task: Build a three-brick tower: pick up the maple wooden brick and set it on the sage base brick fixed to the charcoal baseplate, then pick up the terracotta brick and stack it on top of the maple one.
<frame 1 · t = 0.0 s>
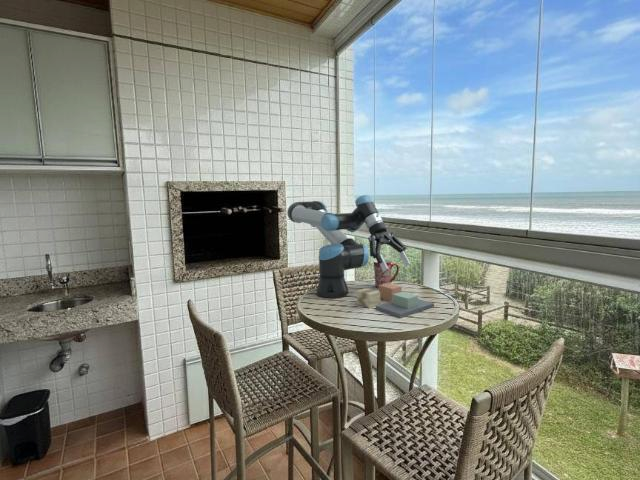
hand: (397, 267, 141), 15 cm above the table, tool tilted 35°, fingers open, 13 cm apart
mug: (386, 287, 168), on the table
baseplate: (405, 308, 135), on the table
maple brick: (368, 304, 141), on the table
terracotta brick: (390, 298, 149), on the table
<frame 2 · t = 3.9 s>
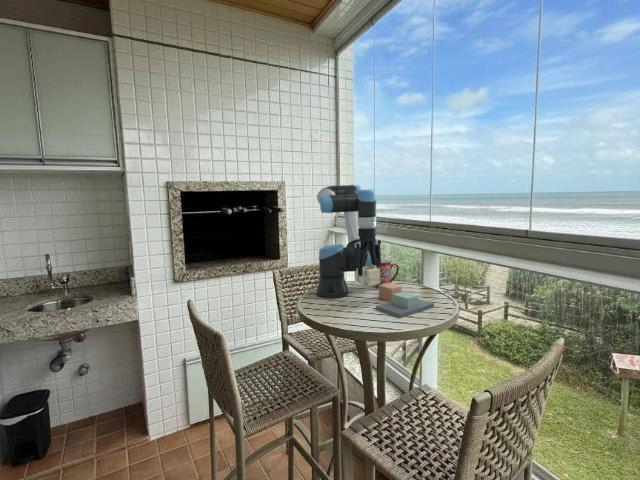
hand: (367, 281, 141), 10 cm above the table, tool pointing down, fingers closed on maple brick, 6 cm apart
maple brick: (368, 282, 141), point 9 cm above the table, touching gripper
everything else where it was.
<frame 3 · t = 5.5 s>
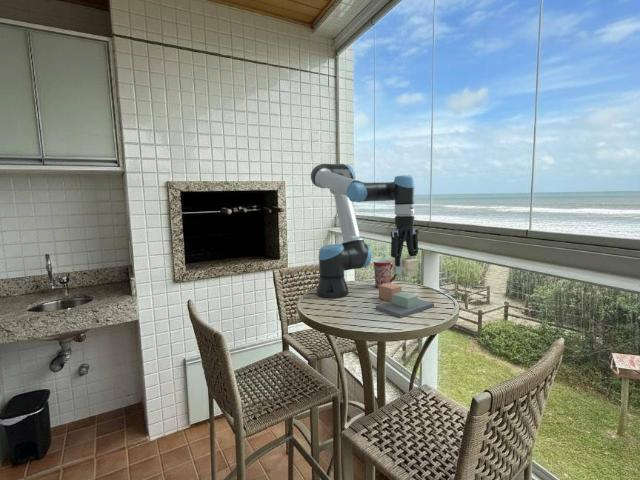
hand: (404, 272, 133), 15 cm above the table, tool pointing down, fingers closed on maple brick, 6 cm apart
maple brick: (405, 273, 133), point 14 cm above the table, touching gripper
everything else where it was.
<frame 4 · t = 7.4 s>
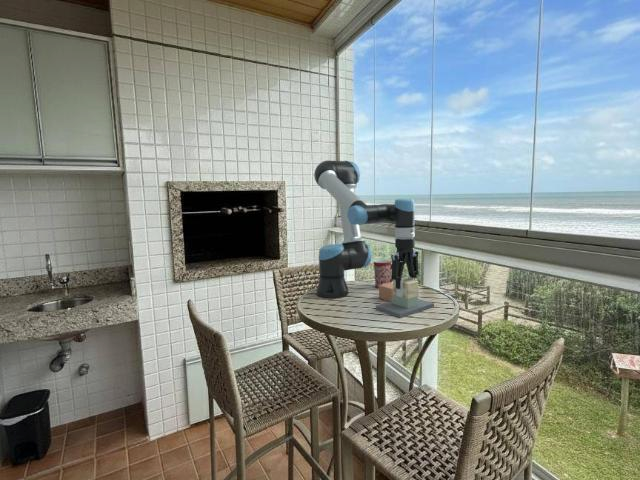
hand: (405, 294, 134), 6 cm above the table, tool pointing down, fingers closed on maple brick, 6 cm apart
maple brick: (405, 295, 134), point 5 cm above the table, touching baseplate, gripper
everything else where it was.
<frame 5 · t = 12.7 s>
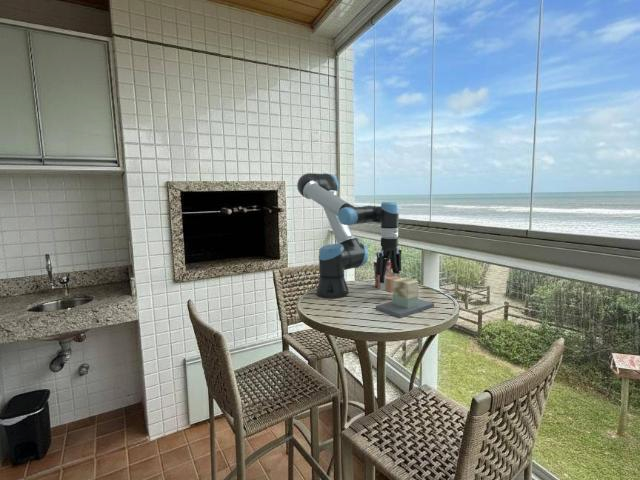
hand: (388, 288, 149), 5 cm above the table, tool pointing down, fingers closed on terracotta brick, 6 cm apart
maple brick: (405, 295, 134), point 5 cm above the table, touching baseplate
terracotta brick: (388, 289, 149), point 4 cm above the table, touching gripper
everything else where it was.
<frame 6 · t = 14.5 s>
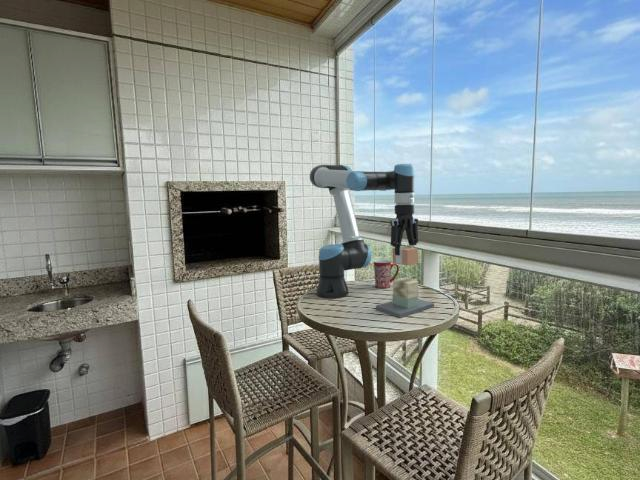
hand: (404, 262, 133), 19 cm above the table, tool pointing down, fingers closed on terracotta brick, 6 cm apart
terracotta brick: (405, 263, 133), point 19 cm above the table, touching gripper
everything else where it was.
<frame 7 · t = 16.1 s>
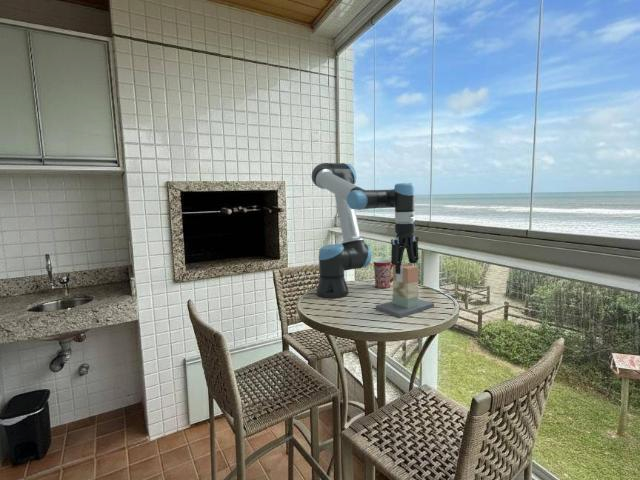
hand: (405, 280, 134), 12 cm above the table, tool pointing down, fingers closed on terracotta brick, 6 cm apart
maple brick: (405, 295, 134), point 5 cm above the table, touching baseplate, gripper, terracotta brick
terracotta brick: (405, 280, 134), point 11 cm above the table, touching gripper, maple brick
everything else where it was.
when the fingers open (12 cm above the table, at t = 16.2 s): terracotta brick stays where it is, resting on maple brick.
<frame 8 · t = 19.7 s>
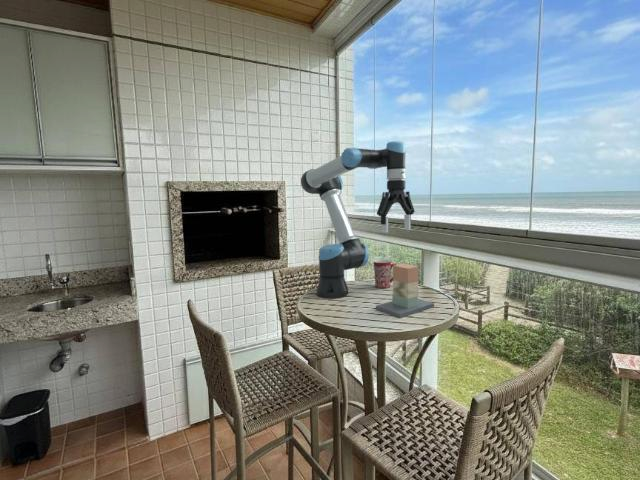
hand: (396, 231, 140), 31 cm above the table, tool pointing down, fingers open, 13 cm apart
maple brick: (405, 295, 134), point 5 cm above the table, touching baseplate, terracotta brick
terracotta brick: (405, 280, 134), point 11 cm above the table, touching maple brick
everything else where it was.
at the end: maple brick 0.3 cm off-centre on the baseplate, point 5.5 cm above the baseplate's base; terracotta brick 0.3 cm off-centre on the baseplate, point 11.5 cm above the baseplate's base; terracotta brick tilted 0° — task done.
